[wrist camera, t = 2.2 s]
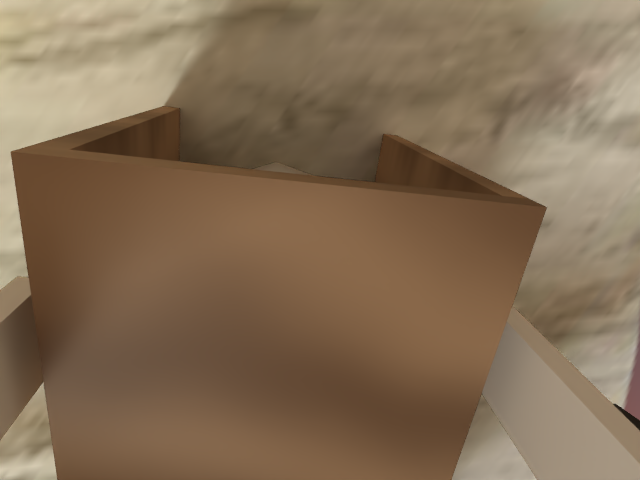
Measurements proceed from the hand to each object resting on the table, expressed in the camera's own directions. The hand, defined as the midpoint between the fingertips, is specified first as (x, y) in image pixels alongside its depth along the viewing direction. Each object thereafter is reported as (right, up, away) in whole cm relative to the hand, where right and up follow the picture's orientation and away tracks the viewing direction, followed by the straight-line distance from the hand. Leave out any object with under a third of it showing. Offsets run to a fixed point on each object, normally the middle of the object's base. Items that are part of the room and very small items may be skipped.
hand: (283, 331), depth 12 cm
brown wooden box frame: (-1, +3, +9) cm, 9 cm away
